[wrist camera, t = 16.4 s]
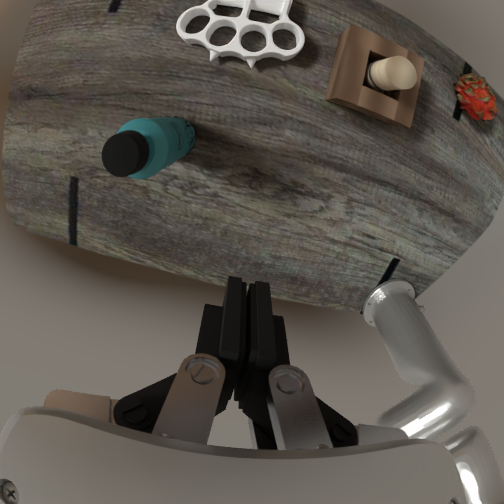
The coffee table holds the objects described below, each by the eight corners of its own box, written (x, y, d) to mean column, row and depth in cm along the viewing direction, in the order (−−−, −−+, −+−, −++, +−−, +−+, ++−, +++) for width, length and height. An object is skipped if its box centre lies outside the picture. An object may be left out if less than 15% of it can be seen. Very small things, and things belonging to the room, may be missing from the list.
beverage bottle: (173, 165, 39) (116, 208, 22) (149, 132, 37) (76, 152, 19) (207, 141, 38) (170, 164, 20) (183, 106, 35) (126, 102, 17)
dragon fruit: (438, 74, 31) (470, 107, 35) (448, 106, 30) (480, 140, 34) (469, 55, 23) (499, 94, 27) (484, 88, 22) (512, 127, 26)
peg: (385, 72, 31) (420, 66, 22) (378, 96, 33) (413, 96, 24) (359, 59, 30) (390, 48, 21) (352, 85, 32) (382, 79, 24)
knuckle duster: (312, 4, 27) (291, 80, 34) (197, -16, 25) (172, 59, 32) (317, -3, 24) (295, 77, 31) (193, -24, 22) (166, 55, 29)
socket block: (404, 63, 30) (424, 59, 25) (391, 124, 36) (410, 128, 31) (339, 34, 29) (352, 24, 24) (324, 99, 35) (336, 97, 29)
